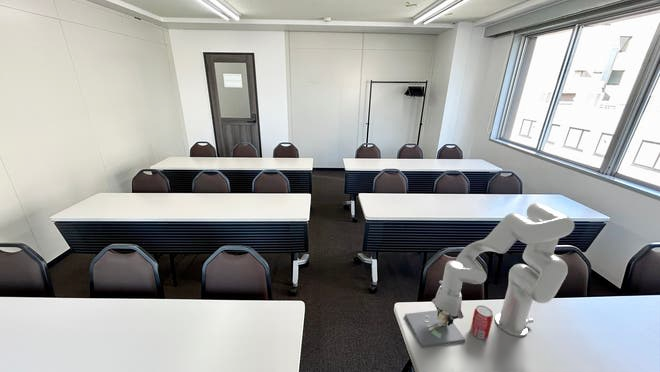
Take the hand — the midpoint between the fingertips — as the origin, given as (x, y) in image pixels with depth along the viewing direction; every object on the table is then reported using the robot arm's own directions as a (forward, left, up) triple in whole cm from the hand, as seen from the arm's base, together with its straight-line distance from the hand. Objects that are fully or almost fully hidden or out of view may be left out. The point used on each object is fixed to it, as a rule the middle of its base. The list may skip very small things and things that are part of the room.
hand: (444, 320), depth 120 cm
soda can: (-14, +5, -4) cm, 16 cm away
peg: (+3, +1, -2) cm, 4 cm away
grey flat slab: (+5, 0, -4) cm, 6 cm away
